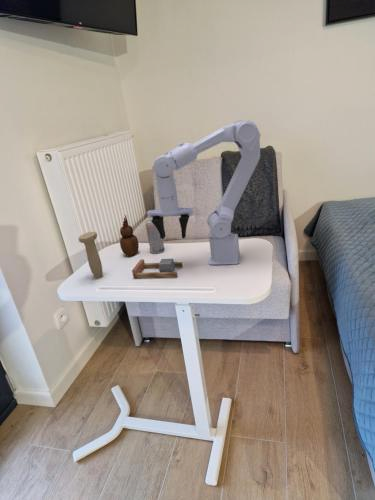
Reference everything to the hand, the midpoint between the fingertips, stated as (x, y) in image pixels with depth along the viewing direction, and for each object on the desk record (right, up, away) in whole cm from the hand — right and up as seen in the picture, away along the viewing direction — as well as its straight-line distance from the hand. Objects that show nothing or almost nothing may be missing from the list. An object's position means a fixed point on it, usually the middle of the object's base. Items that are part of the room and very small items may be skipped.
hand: (173, 237), depth 105 cm
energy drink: (-7, -5, +19) cm, 21 cm away
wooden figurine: (-17, -6, +20) cm, 27 cm away
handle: (-26, -13, +5) cm, 29 cm away
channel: (-5, -11, +2) cm, 12 cm away
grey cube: (-2, -11, +1) cm, 12 cm away
